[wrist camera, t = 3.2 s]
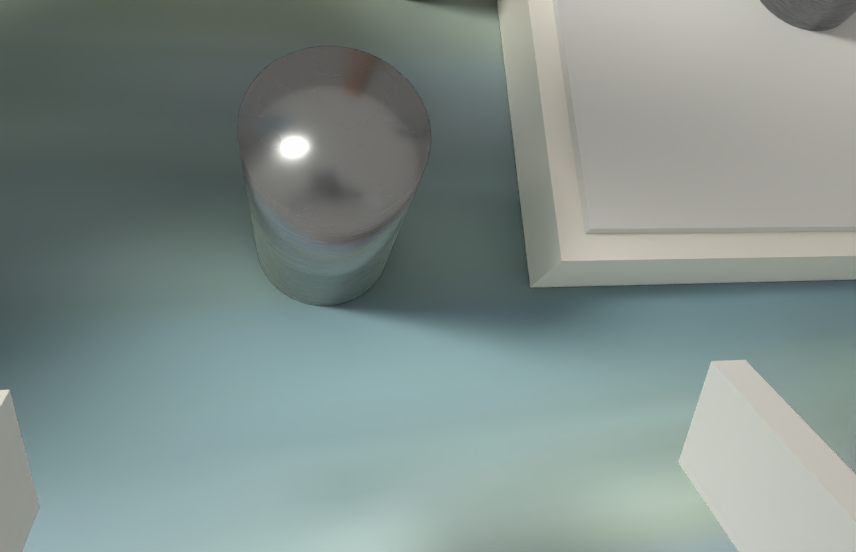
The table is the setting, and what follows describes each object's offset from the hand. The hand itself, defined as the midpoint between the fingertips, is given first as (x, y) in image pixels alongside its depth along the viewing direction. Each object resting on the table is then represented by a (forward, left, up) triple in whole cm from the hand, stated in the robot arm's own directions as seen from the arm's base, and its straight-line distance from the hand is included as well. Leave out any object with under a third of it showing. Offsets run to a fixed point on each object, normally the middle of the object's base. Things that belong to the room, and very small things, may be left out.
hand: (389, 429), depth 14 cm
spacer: (-1, +8, -12) cm, 14 cm away
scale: (+15, +14, -12) cm, 24 cm away
